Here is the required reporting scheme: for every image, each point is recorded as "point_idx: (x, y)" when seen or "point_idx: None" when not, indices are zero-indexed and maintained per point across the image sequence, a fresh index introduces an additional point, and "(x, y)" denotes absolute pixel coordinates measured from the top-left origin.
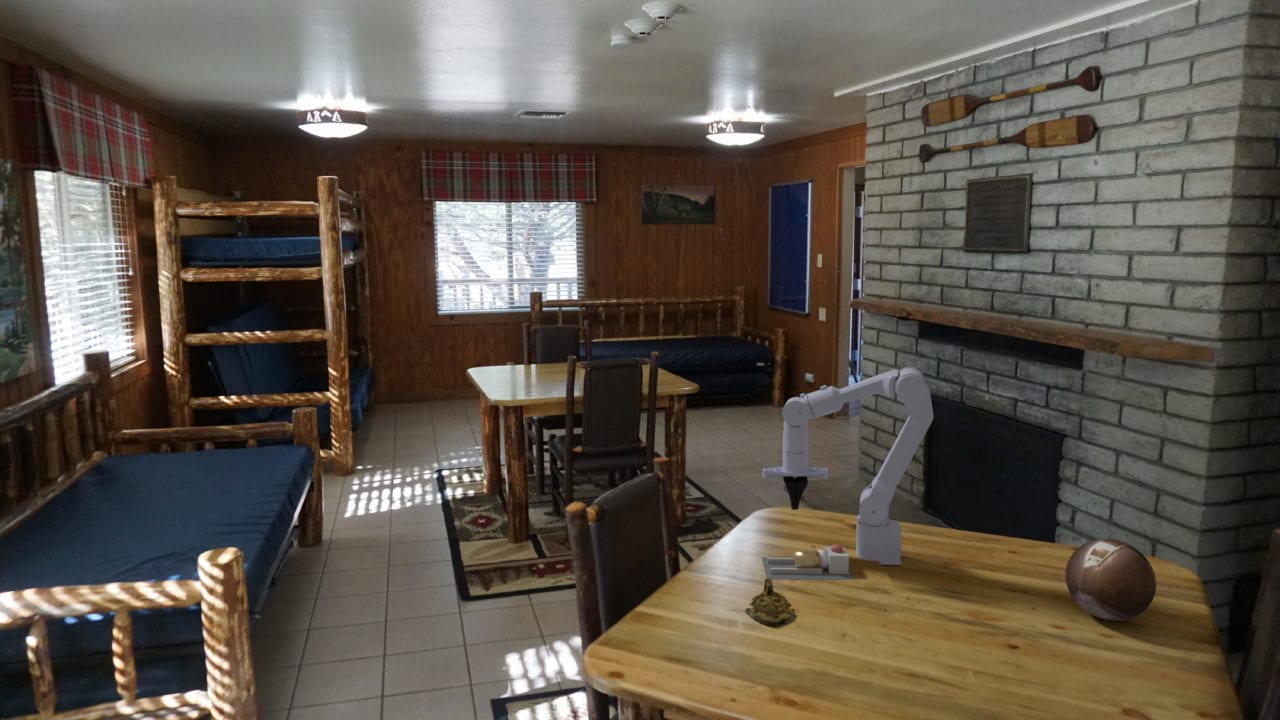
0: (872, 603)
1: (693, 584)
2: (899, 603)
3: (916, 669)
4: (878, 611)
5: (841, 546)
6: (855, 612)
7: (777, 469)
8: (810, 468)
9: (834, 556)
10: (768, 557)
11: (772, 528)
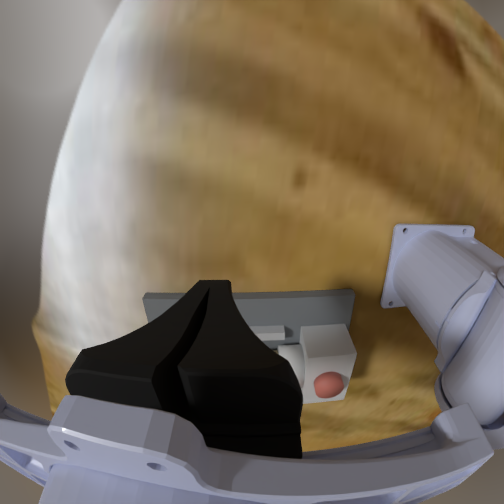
0: (335, 421)
1: (65, 370)
2: (372, 415)
3: None
4: (333, 433)
5: (340, 390)
6: (301, 439)
7: (38, 477)
8: (373, 484)
9: (311, 401)
10: (159, 300)
11: (181, 28)
